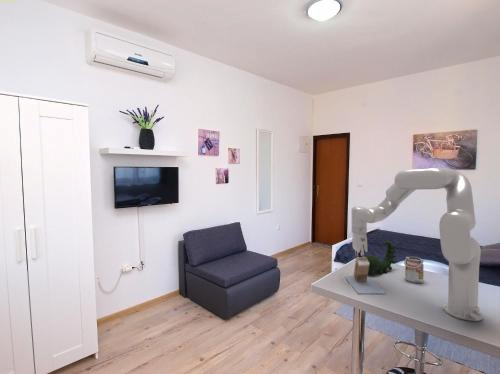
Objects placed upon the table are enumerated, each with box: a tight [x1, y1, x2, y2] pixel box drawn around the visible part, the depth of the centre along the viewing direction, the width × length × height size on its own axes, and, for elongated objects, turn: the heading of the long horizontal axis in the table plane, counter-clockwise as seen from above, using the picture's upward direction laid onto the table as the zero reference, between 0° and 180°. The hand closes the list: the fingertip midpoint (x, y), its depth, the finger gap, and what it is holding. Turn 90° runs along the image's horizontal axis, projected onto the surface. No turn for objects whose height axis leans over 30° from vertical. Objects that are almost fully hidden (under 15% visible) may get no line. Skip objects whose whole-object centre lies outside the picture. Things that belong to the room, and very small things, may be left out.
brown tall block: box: [353, 256, 370, 282], centre depth 142 cm, size 5×5×12 cm
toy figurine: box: [363, 240, 397, 276], centre depth 155 cm, size 9×19×25 cm
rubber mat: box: [344, 276, 387, 295], centre depth 138 cm, size 20×13×1 cm, turn 178°
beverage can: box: [403, 256, 424, 284], centre depth 142 cm, size 9×8×12 cm
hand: (359, 263), depth 145 cm, fingers closed
